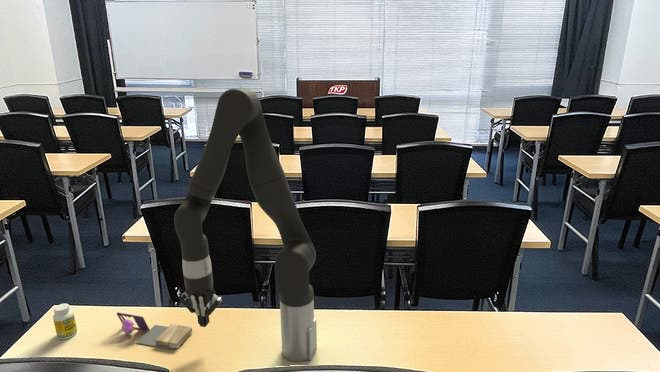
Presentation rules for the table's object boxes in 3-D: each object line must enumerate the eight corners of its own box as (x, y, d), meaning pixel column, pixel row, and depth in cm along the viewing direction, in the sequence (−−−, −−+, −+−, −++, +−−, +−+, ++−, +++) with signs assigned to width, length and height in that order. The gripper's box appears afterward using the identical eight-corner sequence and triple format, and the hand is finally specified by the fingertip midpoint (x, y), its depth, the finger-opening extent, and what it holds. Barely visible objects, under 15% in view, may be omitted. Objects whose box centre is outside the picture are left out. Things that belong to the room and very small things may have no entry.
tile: (191, 327, 136) (171, 323, 137) (176, 343, 128) (155, 339, 130) (192, 332, 136) (172, 328, 138) (177, 348, 129) (156, 344, 131)
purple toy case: (144, 314, 134) (118, 310, 137) (133, 329, 130) (107, 324, 133) (151, 328, 138) (126, 323, 141) (141, 343, 134) (116, 338, 137)
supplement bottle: (67, 327, 139) (62, 300, 136) (81, 330, 138) (76, 303, 135) (52, 338, 134) (46, 310, 131) (67, 341, 133) (60, 313, 130)
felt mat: (189, 331, 137) (189, 330, 137) (172, 350, 129) (172, 349, 129) (155, 325, 140) (155, 324, 140) (136, 343, 132) (136, 342, 132)
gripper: (226, 266, 125) (231, 320, 131) (183, 262, 129) (190, 314, 134) (212, 280, 118) (219, 336, 124) (168, 274, 122) (176, 329, 127)
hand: (204, 325), depth 129 cm, fingers closed
